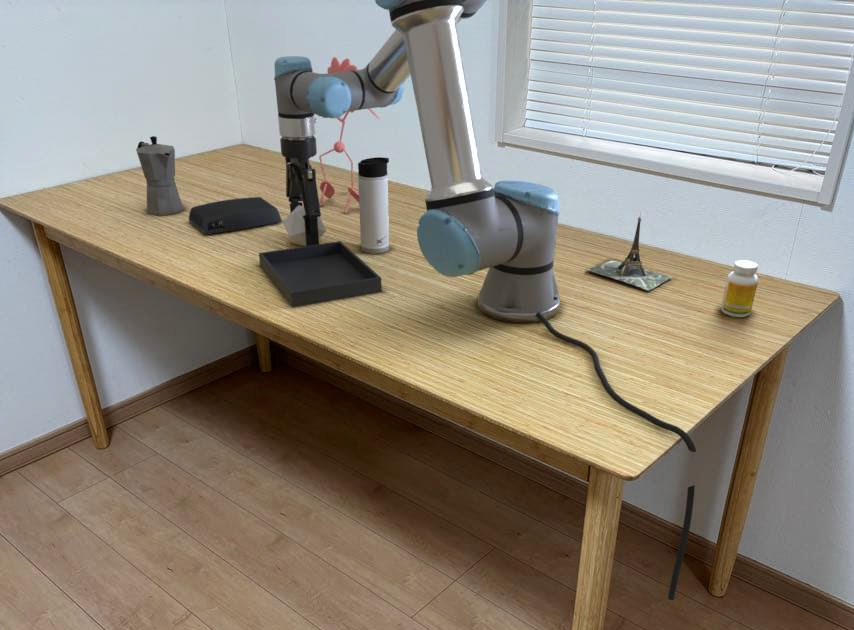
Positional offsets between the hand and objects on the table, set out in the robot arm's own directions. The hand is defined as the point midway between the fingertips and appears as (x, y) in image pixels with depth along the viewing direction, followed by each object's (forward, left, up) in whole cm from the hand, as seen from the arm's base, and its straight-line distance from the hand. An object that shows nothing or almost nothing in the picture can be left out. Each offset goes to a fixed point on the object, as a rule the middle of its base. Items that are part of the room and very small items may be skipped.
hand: (305, 238), depth 180 cm
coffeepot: (+39, +25, -1) cm, 46 cm away
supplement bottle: (-69, -62, -1) cm, 93 cm away
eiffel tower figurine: (-46, -55, -1) cm, 72 cm away
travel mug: (-10, -13, -1) cm, 16 cm away
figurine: (+24, -20, -1) cm, 31 cm away
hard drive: (+21, +11, -1) cm, 24 cm away
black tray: (-21, +4, -1) cm, 21 cm away
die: (0, 0, -1) cm, 1 cm away
